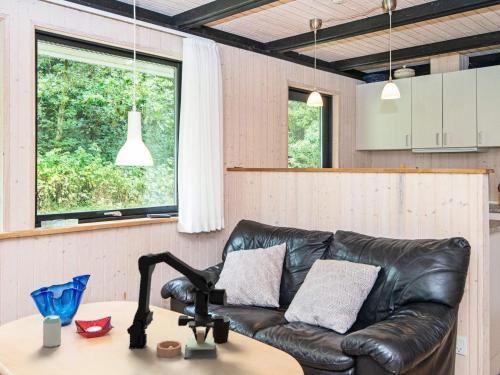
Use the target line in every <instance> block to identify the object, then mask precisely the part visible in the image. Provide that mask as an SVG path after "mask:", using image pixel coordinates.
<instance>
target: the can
mask: <svg viewBox="0 0 500 375" xmlns="http://www.w3.org/2000/svg"><path fill="white" fill-rule="evenodd" d="M61 343H62V319H61V318H60V315H57V314H50V315H46V316H45V317H44V320H43V322H42V345H43V346H44V347H46V348H55V347H58V346H59V345H60V344H61Z"/></svg>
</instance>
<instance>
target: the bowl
mask: <svg viewBox="0 0 500 375" xmlns="http://www.w3.org/2000/svg"><path fill="white" fill-rule="evenodd" d="M155 350H156V356H158V357H160V358H163V359H171V358H172V359H173V358H177V357H179V356H181V354H182V343H181V342H180V341H178V340H173V339H172V340H171V339H170V340H168V339H167V340H162V341H159V342H158V343H157V344H156V349H155Z"/></svg>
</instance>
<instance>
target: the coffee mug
mask: <svg viewBox="0 0 500 375" xmlns="http://www.w3.org/2000/svg"><path fill="white" fill-rule="evenodd" d="M222 316H223V317H224V326H216V325H215V324H213V325H214V327H213V328H211V332H212V338H214V344H216V345H224V344H227V343H228V341H229V333H230V326H231V318H230V317H229V316H225V315H222ZM212 318H214V316H212Z"/></svg>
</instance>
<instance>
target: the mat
mask: <svg viewBox="0 0 500 375" xmlns="http://www.w3.org/2000/svg"><path fill="white" fill-rule="evenodd" d="M183 355H184V356H183V359H184V360H217V357H218V355H217V344H214V349H187V344H185V348H184V354H183Z"/></svg>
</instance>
